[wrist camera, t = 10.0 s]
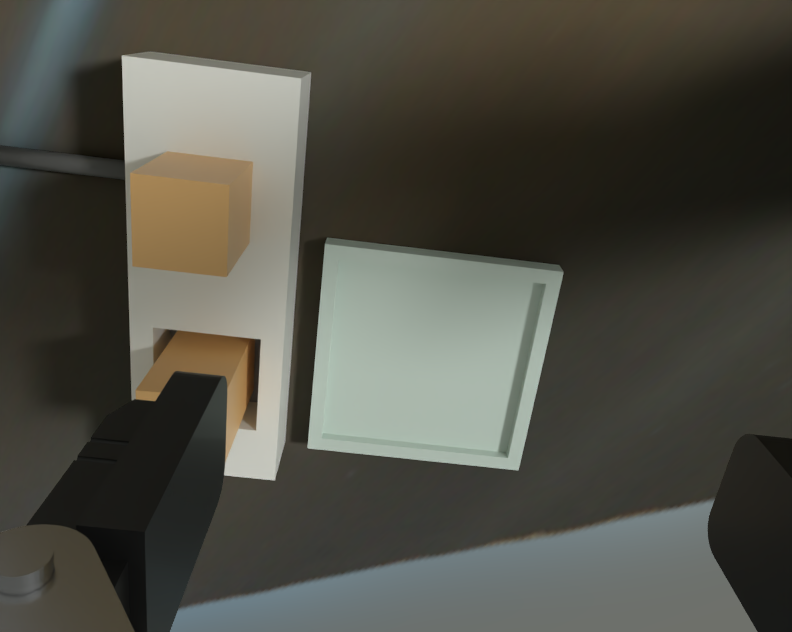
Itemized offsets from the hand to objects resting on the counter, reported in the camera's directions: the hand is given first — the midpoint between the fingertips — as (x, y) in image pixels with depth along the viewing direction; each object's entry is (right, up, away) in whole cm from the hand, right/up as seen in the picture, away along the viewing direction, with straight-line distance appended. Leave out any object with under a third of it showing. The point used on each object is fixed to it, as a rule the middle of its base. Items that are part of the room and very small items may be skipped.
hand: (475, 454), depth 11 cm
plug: (-11, 0, +29) cm, 32 cm away
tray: (+1, 0, +31) cm, 31 cm away
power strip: (-15, +5, +28) cm, 32 cm away
